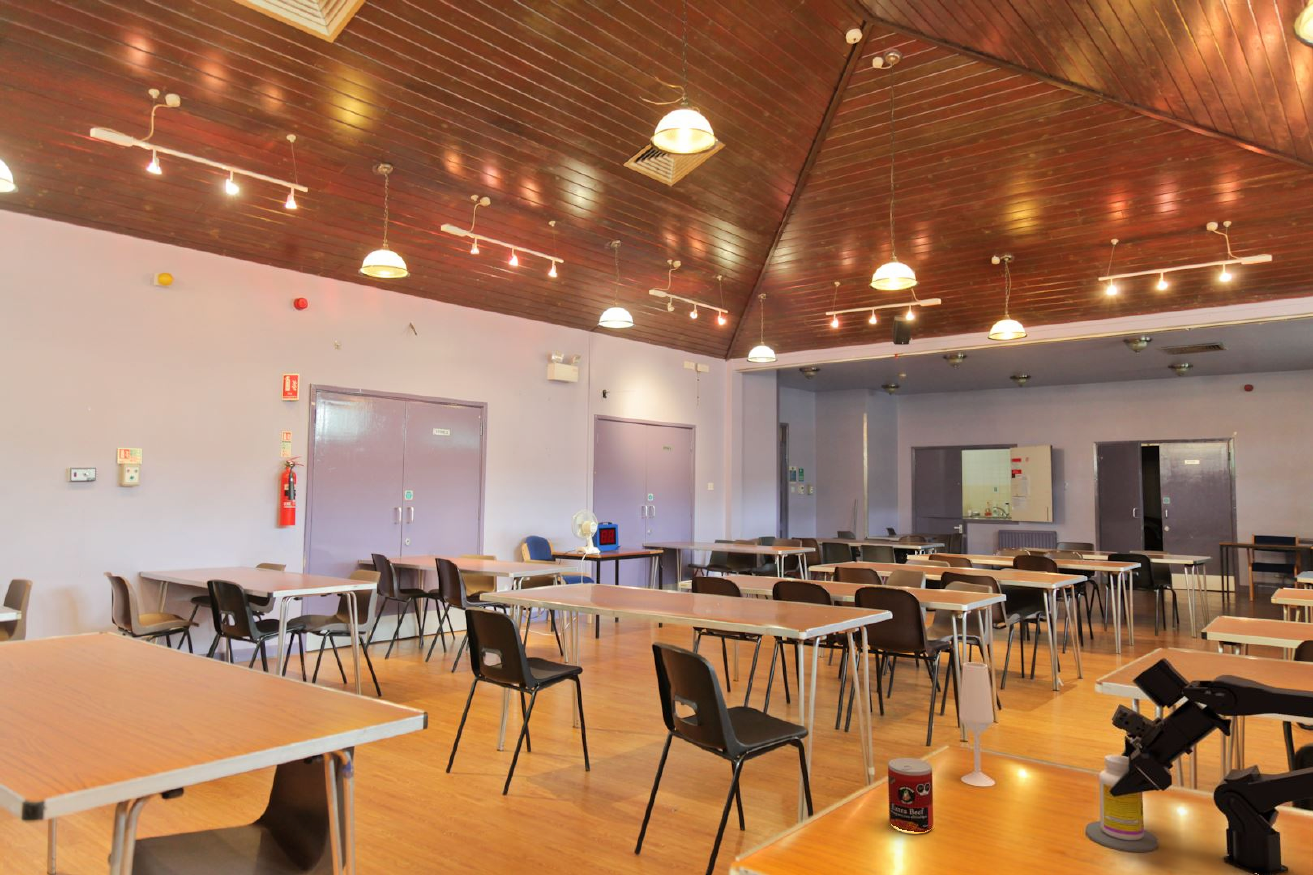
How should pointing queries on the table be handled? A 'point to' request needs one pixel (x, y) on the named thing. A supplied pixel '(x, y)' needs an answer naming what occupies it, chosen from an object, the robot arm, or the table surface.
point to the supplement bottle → (1119, 803)
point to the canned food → (910, 794)
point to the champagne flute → (976, 714)
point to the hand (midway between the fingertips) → (1110, 785)
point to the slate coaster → (1121, 840)
